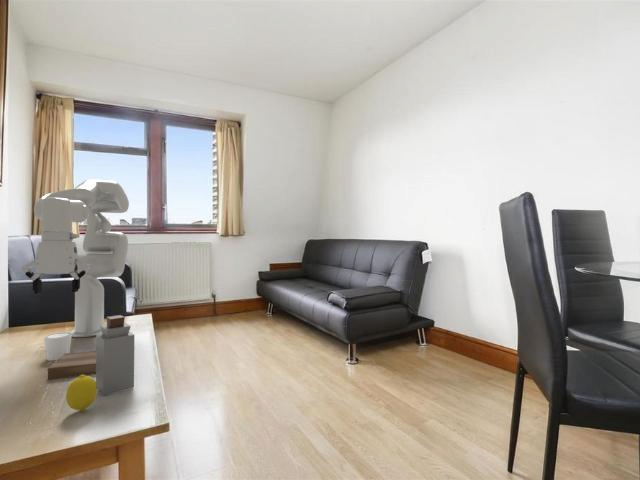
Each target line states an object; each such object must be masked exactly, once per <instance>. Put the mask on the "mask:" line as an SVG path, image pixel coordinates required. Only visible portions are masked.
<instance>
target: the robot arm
mask: <svg viewBox="0 0 640 480" xmlns="http://www.w3.org/2000/svg"><path fill="white" fill-rule="evenodd" d="M129 202H130V201H129V198H128V196H127V194H126V193H125V190H124V189H123V187H122V185H120V183H118V182H117V181H114V180H107V179H106V180H104V179H103V180H102V179H87V180H84V181H82V182H81V183H80V184H77V185H76V187H73V188H67V189H64V190H58V191H54V192H49V193H47V194H44V195H43V196H41V197H40V198H39V199H37V201H36V202H35V204H34V206H33V213H34V216H35V217H36V218H37V219H38V220H39V221H41V223H40V224H41V226H40V227H41V228H40V229H41V241H39V242H38V244H37V248H36V253H35V258H34V259H35V260H34V261H31V262H29V263H27V264H25V265H22V266H21V270H22V271H23V272H24V273H25V276H26V277H27V278H29V279H30V280H31V281H32V291H33V292H34V294H35V295H36V294H41V293H42V292H43V290H42V289H43V288H42V287H43V285H42V283H43V282H42V279H41V277H42V276H44V275H68V274H69V275H70V276H71V277H72V278H73V279H72V281H71V283H72V284H71V291H72V293H74V329H72V330H71V331H70V332H69V333H71V334H72V337H73V338H88V337H89V338H90V337H96V335H97V334H102V331H101V327H100V326H103V325H105V324H104V322H105V287H104V285H103V283H101V281H100V279H99V278H118V277H121V276H122V274H123V273H124V271H125V266H126V260H127V254H128V249H129V240H128V237H127V235H126V234H125V233H124V232H119V231H111V229H112V224H111V222H110V221H109V220H108V218H107V217H106V216H104V215H103V213H104V214H105V213H106V214H107V213H110V214H123V213H126V212H128V209H129V207H130V203H129ZM85 220H86V221H87V222H86V223H87V224H86V225H87V226H86V230H85V234H84V238H83V241H82V250H83V251H84V252H85V253H83V254H82V253H81V254H79V255H78V248H77V243H76V241H73V240H74V239H78V233H74V231H73V223H82V222H84V221H85ZM33 267H34V270H35V271H34V272H35V273H34V272H33V271H32V270H31V268H33ZM72 337H71V338H72Z"/></svg>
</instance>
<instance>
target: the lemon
mask: <svg viewBox="0 0 640 480" xmlns="http://www.w3.org/2000/svg"><path fill="white" fill-rule="evenodd" d="M97 394H98V390H97V385H96V379H94V378H93V377H92V376H91V375H80V376H77V377H76V378H74V379H73V380H72V381H71V382H70V383H69V385H68V387H67V390H66V394H65V396H66V397H65V398H66V403H67V406H69V408H71V409H72V410H75V411H78V412H80V413H81V412H83V411H85V410H86V409H87V408H89V407H90V406H91V405H92V404H93V403H94V402H95V400H96V398H97Z"/></svg>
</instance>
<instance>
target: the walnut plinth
mask: <svg viewBox="0 0 640 480" xmlns="http://www.w3.org/2000/svg"><path fill="white" fill-rule="evenodd" d="M91 374H94V375H96V350H91V351H81V352H70V353H67V354H64V355H63V356H62V357H60V358H59V359H58V360H55V361H54V362H53V363H52V364H51V365H50V366H49V367H48V368H47V380H55V379H56V380H57V379H64V378H73V377H79V376H80V375H85V376H92V375H91Z"/></svg>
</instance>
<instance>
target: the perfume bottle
mask: <svg viewBox="0 0 640 480" xmlns="http://www.w3.org/2000/svg"><path fill="white" fill-rule="evenodd" d="M100 327H101V331H102V334H97V335H96V336H95V351H96V374H95V382H96V385H97V392H99V394H101V396H103V397H106V396H110V395H112V394H118V393H119V392H123V391H127V390H130V389H134V388H135V334H134V333H133V332H130V329H131V325H130V324H128V323H126V322H125V316H123V315H121V314H119V315H112V316H106V324H104V325H103V326H100ZM133 387H134V388H133Z"/></svg>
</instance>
